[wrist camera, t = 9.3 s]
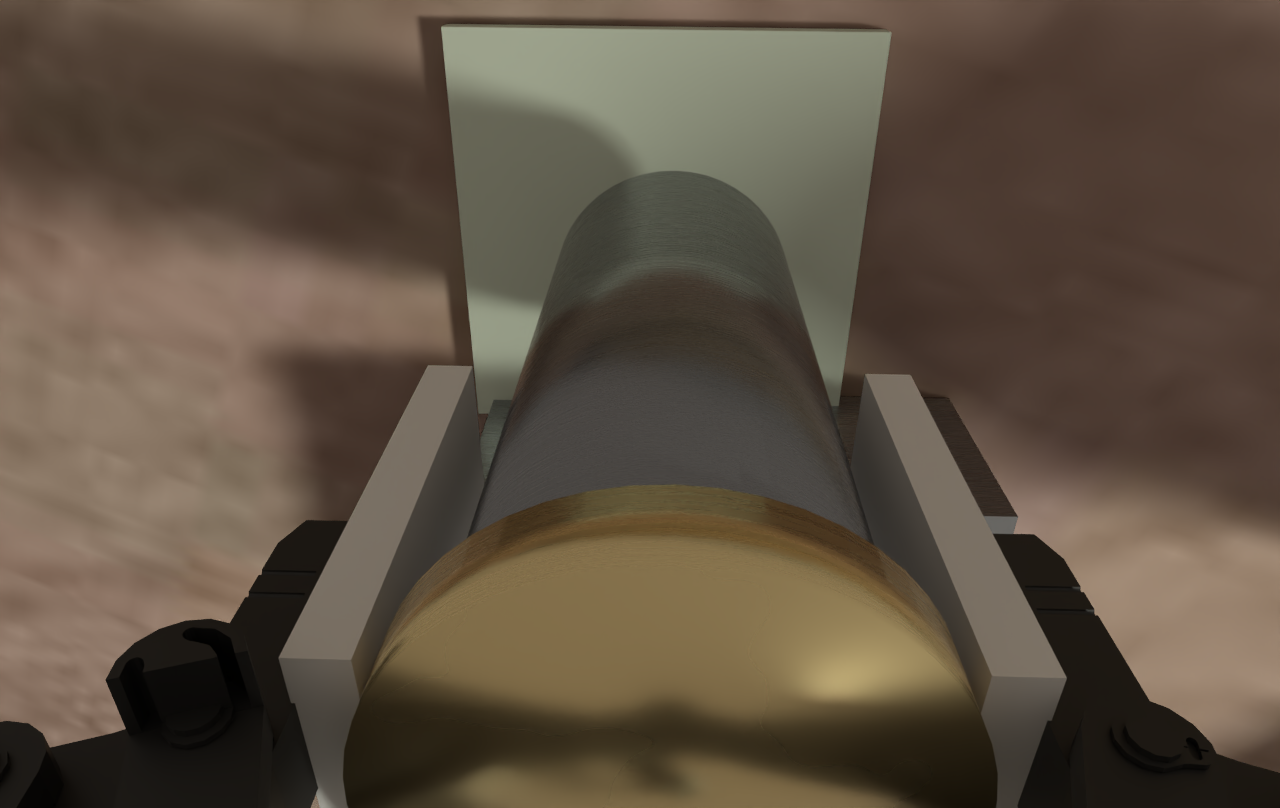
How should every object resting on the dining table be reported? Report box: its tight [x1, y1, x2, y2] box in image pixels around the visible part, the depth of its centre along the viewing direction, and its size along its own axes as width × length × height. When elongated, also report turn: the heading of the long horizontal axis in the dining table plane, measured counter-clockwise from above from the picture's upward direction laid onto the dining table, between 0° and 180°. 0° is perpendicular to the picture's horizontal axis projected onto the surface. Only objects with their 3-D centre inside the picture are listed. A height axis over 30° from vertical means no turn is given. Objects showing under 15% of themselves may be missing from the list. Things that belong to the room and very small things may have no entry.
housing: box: [480, 396, 1018, 534], centre depth 28 cm, size 14×16×6 cm
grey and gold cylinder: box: [343, 171, 998, 808], centre depth 15 cm, size 7×7×14 cm
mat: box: [441, 24, 892, 414], centre depth 24 cm, size 11×11×1 cm
